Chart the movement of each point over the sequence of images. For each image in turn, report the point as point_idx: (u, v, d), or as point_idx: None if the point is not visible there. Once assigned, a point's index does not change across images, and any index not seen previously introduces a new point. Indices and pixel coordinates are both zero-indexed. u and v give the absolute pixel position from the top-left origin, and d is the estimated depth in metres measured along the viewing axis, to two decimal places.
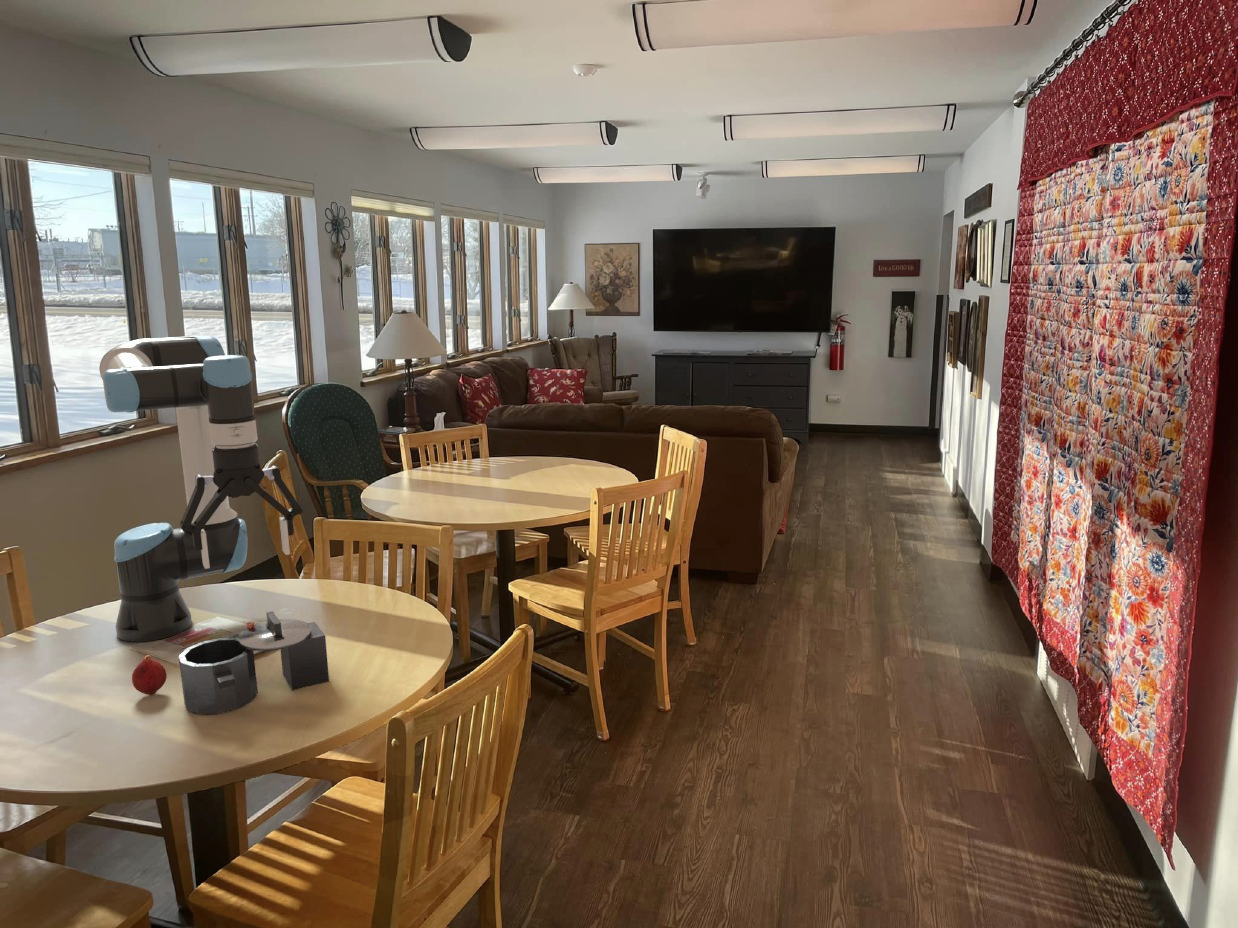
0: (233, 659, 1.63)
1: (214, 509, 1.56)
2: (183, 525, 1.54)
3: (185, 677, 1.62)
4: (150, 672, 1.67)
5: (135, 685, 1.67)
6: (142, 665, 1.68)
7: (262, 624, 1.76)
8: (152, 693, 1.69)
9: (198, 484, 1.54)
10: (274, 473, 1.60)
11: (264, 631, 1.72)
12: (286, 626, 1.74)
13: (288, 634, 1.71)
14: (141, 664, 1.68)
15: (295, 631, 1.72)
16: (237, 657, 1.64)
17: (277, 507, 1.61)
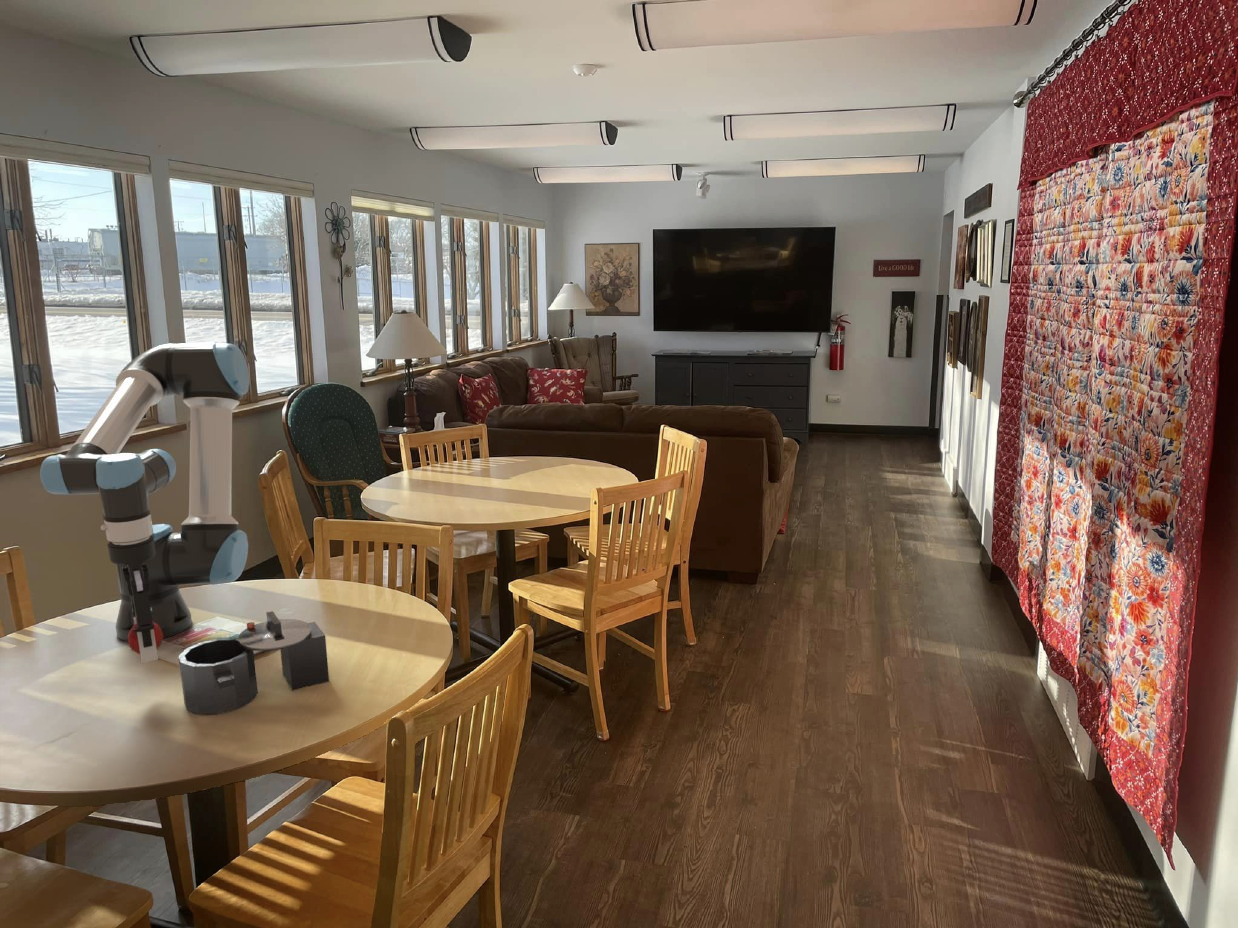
0: (233, 659, 1.63)
1: (131, 595, 1.68)
2: (131, 603, 1.72)
3: (185, 677, 1.62)
4: None
5: (131, 645, 1.66)
6: None
7: (262, 624, 1.76)
8: None
9: None
10: (131, 584, 1.60)
11: (264, 631, 1.72)
12: (286, 626, 1.74)
13: (288, 634, 1.71)
14: None
15: (295, 631, 1.72)
16: (237, 657, 1.64)
17: (135, 613, 1.64)
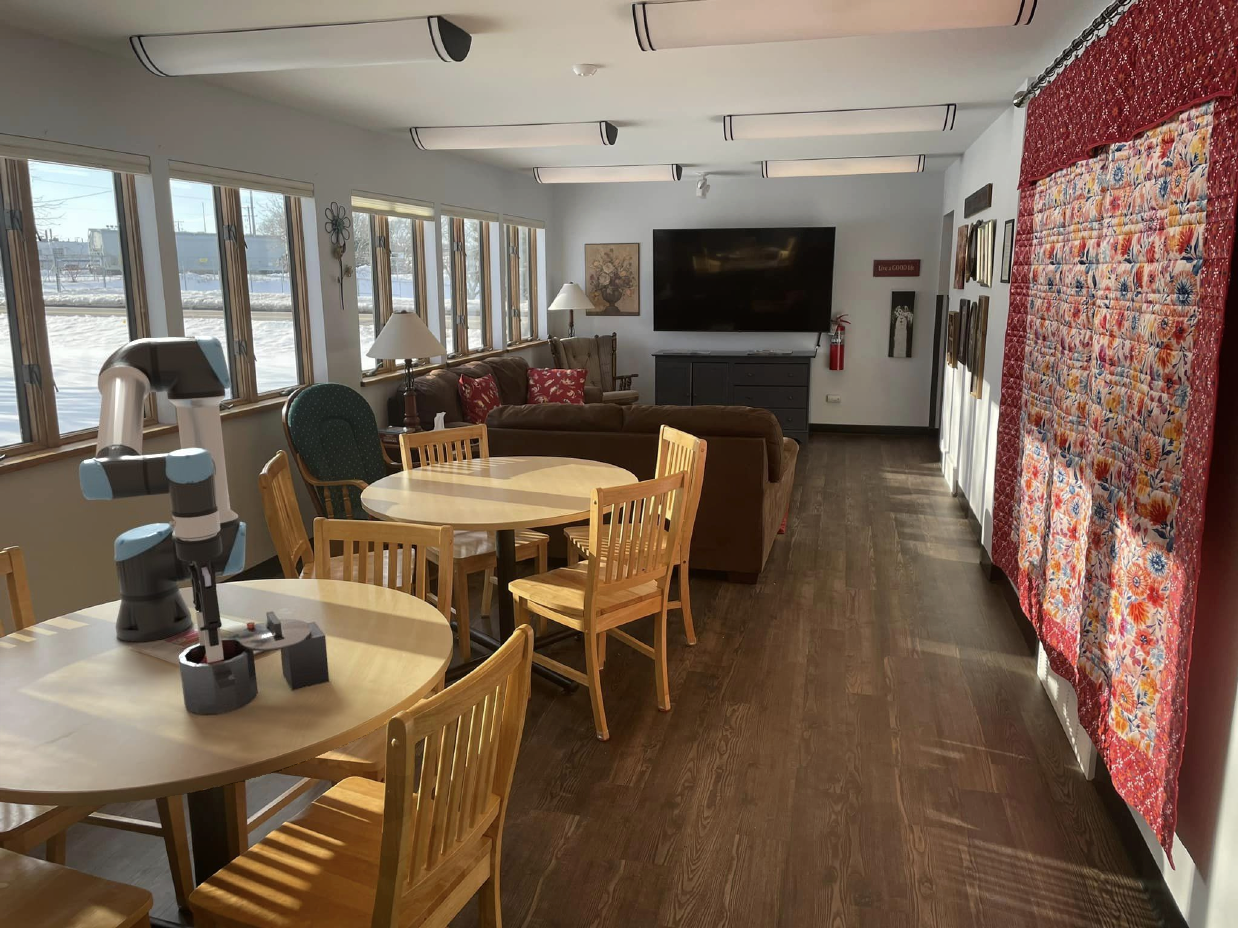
0: (233, 659, 1.63)
1: (195, 591, 1.66)
2: None
3: (185, 677, 1.62)
4: None
5: None
6: (204, 660, 1.67)
7: (262, 624, 1.76)
8: None
9: (189, 563, 1.67)
10: None
11: (264, 631, 1.72)
12: (286, 626, 1.74)
13: (288, 634, 1.71)
14: (203, 660, 1.68)
15: (295, 631, 1.72)
16: (237, 657, 1.64)
17: (202, 611, 1.60)
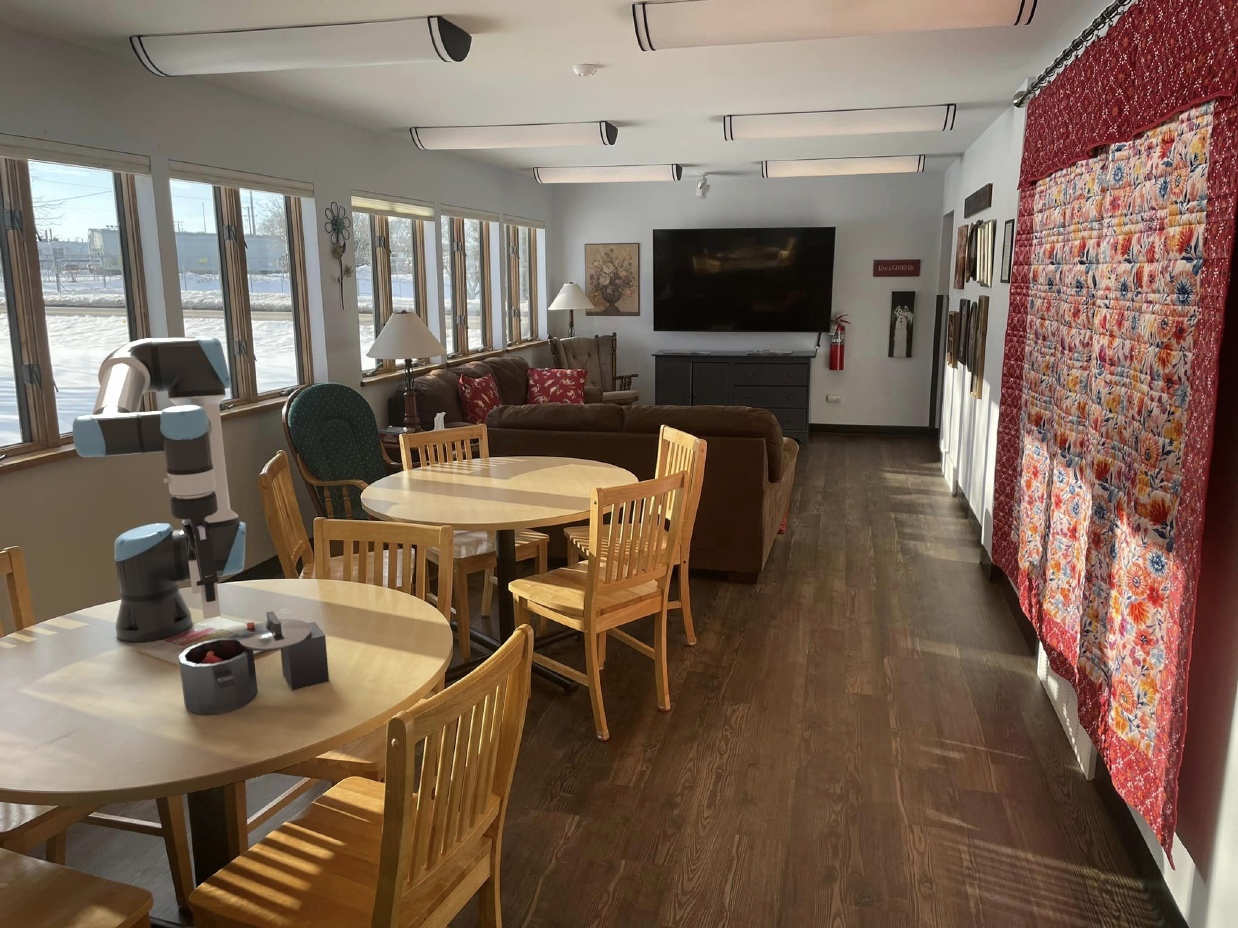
0: (233, 659, 1.63)
1: (188, 544, 1.65)
2: (186, 547, 1.70)
3: (185, 677, 1.62)
4: None
5: None
6: (205, 659, 1.68)
7: (262, 624, 1.76)
8: None
9: None
10: (194, 533, 1.55)
11: (264, 631, 1.72)
12: (286, 626, 1.74)
13: (288, 634, 1.71)
14: (204, 659, 1.68)
15: (295, 631, 1.72)
16: (237, 657, 1.64)
17: (198, 567, 1.57)
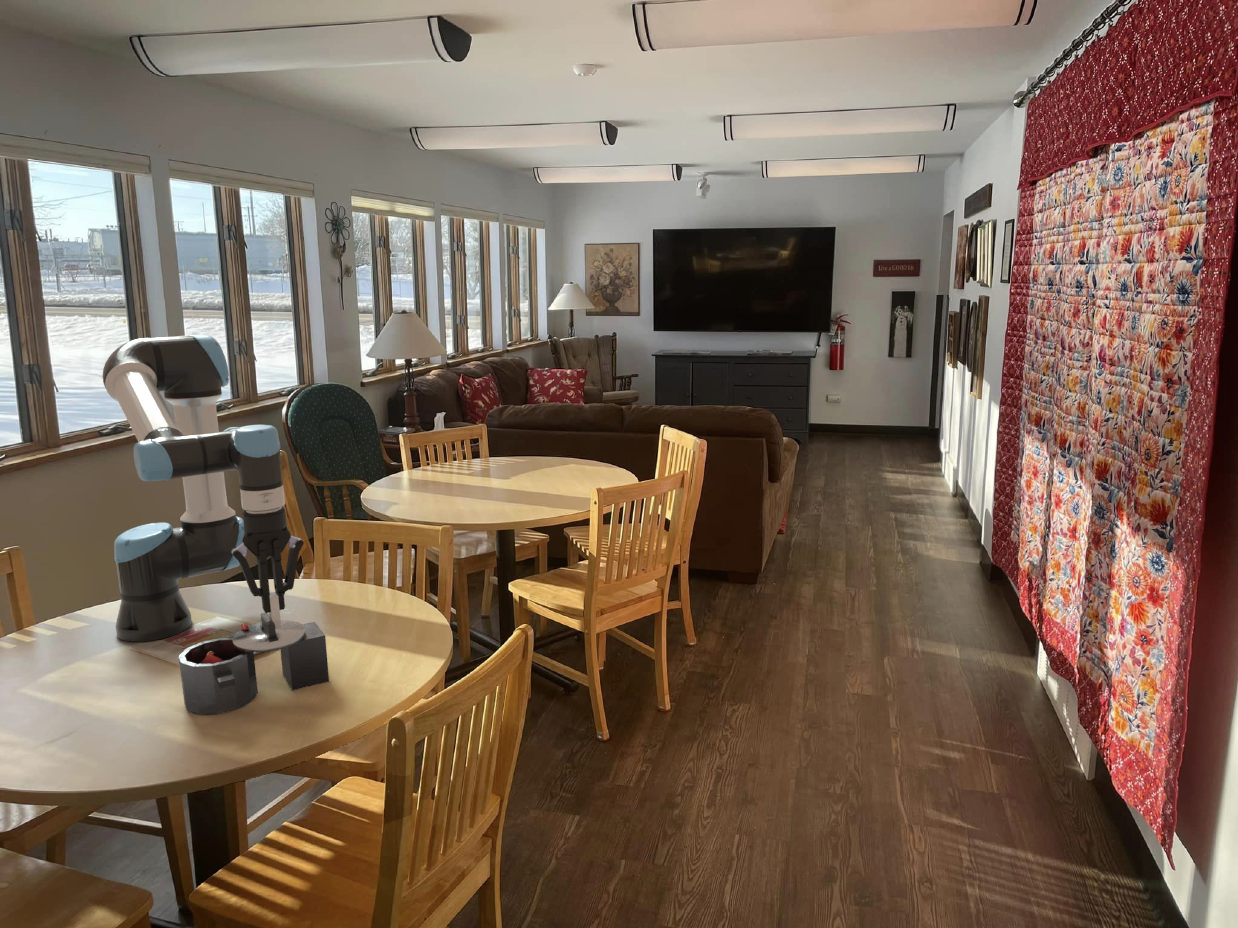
0: (233, 659, 1.63)
1: (266, 571, 1.68)
2: (253, 592, 1.67)
3: (185, 677, 1.62)
4: None
5: None
6: (205, 659, 1.68)
7: (257, 625, 1.75)
8: None
9: (237, 558, 1.64)
10: (297, 544, 1.70)
11: (258, 632, 1.72)
12: None
13: (282, 635, 1.70)
14: (204, 659, 1.68)
15: (289, 632, 1.71)
16: (237, 657, 1.64)
17: (277, 578, 1.69)
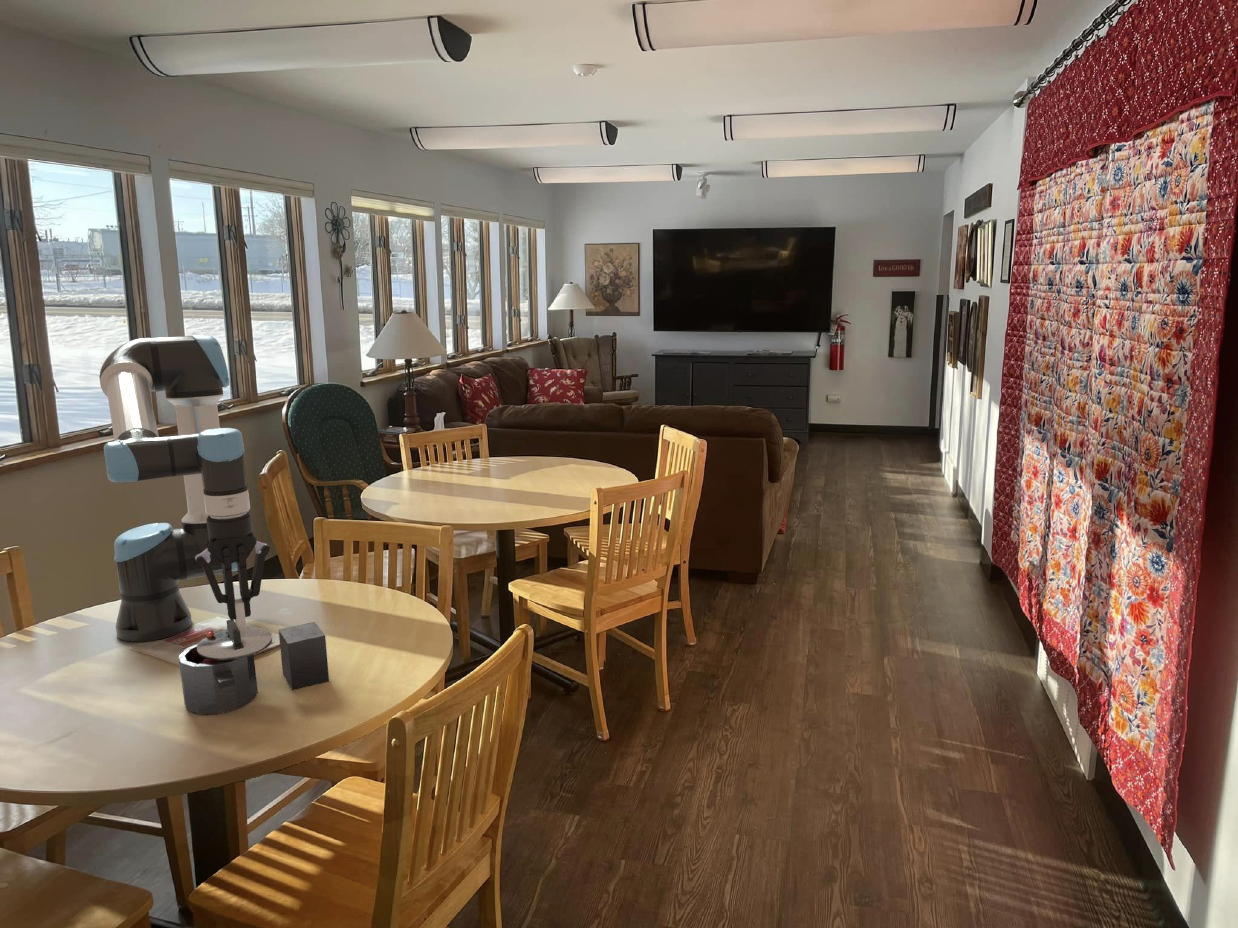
0: (233, 659, 1.63)
1: (231, 578, 1.64)
2: (217, 599, 1.64)
3: (185, 677, 1.62)
4: None
5: None
6: (205, 659, 1.68)
7: (223, 632, 1.72)
8: None
9: (201, 564, 1.61)
10: (263, 549, 1.67)
11: (224, 640, 1.68)
12: (247, 634, 1.71)
13: (248, 643, 1.67)
14: (204, 659, 1.68)
15: (255, 640, 1.68)
16: None
17: (243, 584, 1.66)
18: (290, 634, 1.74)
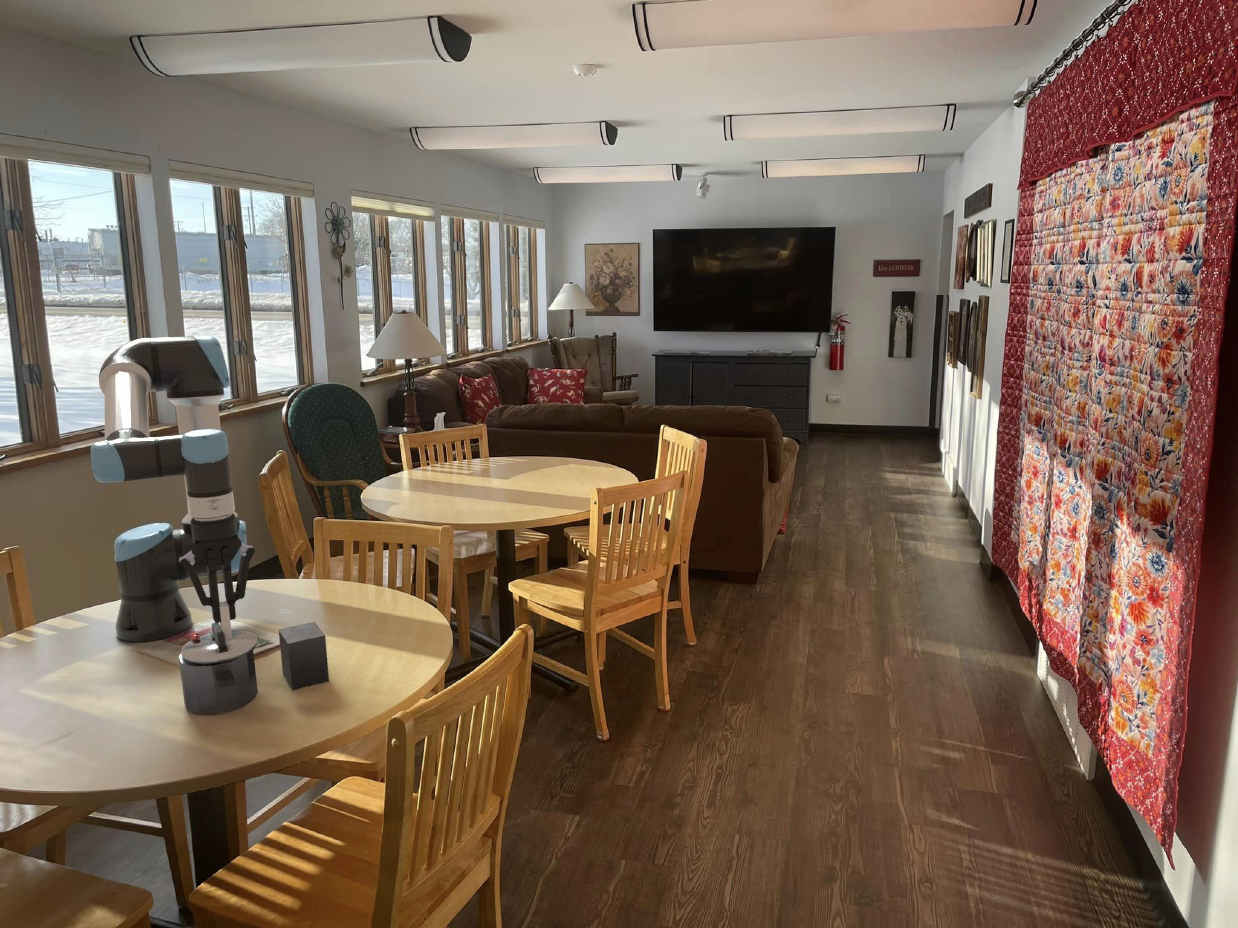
0: (233, 659, 1.63)
1: (215, 580, 1.63)
2: (202, 602, 1.62)
3: (185, 677, 1.62)
4: None
5: None
6: None
7: (208, 635, 1.70)
8: None
9: (185, 566, 1.60)
10: (248, 551, 1.65)
11: (209, 643, 1.67)
12: (232, 637, 1.69)
13: (233, 646, 1.66)
14: None
15: (240, 643, 1.67)
16: None
17: (227, 587, 1.64)
18: (290, 634, 1.74)
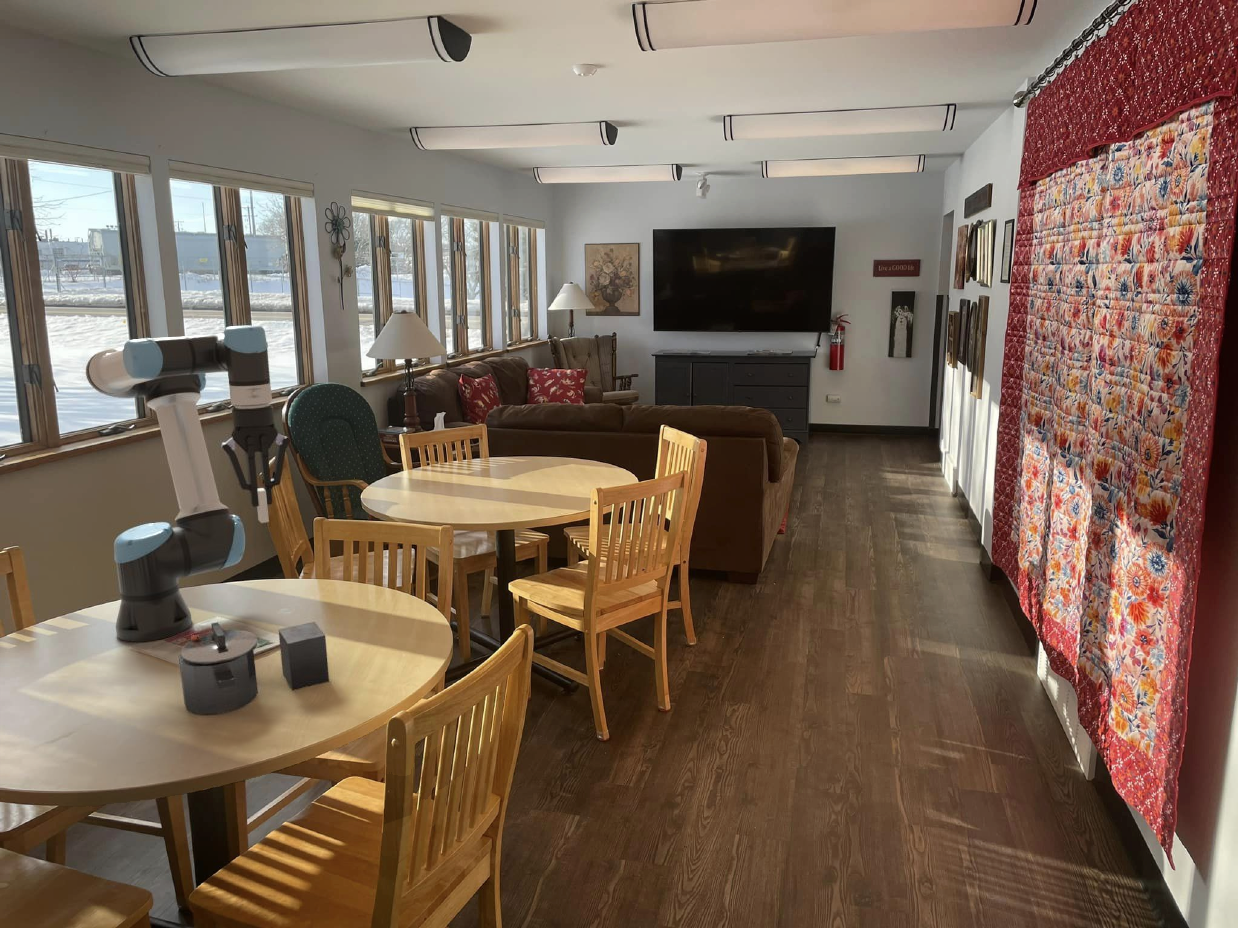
0: (233, 659, 1.63)
1: (254, 466, 1.76)
2: (241, 485, 1.76)
3: (185, 677, 1.62)
4: None
5: None
6: None
7: (208, 635, 1.70)
8: None
9: (226, 451, 1.73)
10: (284, 441, 1.79)
11: (208, 643, 1.67)
12: (232, 637, 1.69)
13: (233, 646, 1.66)
14: None
15: (240, 643, 1.67)
16: None
17: (265, 473, 1.78)
18: (290, 634, 1.74)
